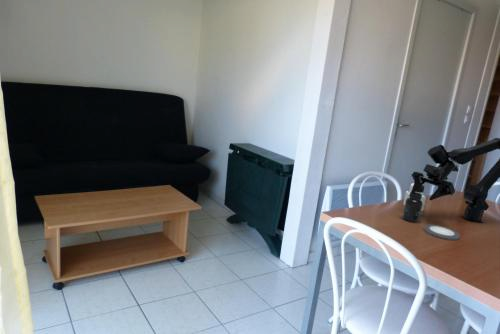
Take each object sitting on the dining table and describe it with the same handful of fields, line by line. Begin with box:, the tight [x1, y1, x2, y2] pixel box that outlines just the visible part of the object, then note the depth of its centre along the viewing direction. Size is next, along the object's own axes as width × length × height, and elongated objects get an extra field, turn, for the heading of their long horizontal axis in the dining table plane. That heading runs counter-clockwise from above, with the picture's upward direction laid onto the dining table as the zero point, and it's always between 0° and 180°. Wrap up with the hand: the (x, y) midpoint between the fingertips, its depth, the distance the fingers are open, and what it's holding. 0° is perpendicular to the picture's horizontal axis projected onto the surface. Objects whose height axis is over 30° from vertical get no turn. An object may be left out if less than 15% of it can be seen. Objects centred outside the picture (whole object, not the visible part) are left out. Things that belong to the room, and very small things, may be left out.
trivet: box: [423, 224, 461, 241], centre depth 146 cm, size 13×13×1 cm
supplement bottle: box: [402, 192, 423, 223], centre depth 157 cm, size 7×7×12 cm
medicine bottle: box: [402, 182, 427, 212], centre depth 175 cm, size 7×7×12 cm
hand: (420, 196), depth 158 cm, fingers open, 9 cm apart
